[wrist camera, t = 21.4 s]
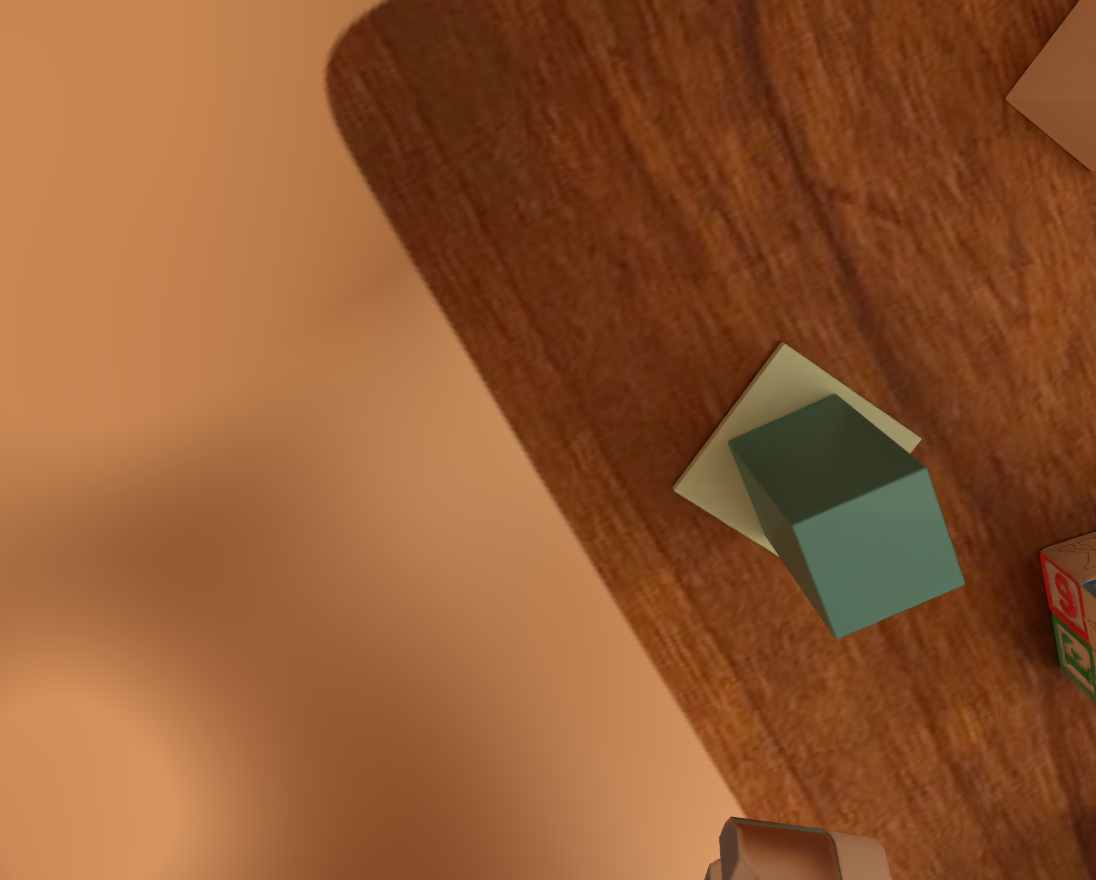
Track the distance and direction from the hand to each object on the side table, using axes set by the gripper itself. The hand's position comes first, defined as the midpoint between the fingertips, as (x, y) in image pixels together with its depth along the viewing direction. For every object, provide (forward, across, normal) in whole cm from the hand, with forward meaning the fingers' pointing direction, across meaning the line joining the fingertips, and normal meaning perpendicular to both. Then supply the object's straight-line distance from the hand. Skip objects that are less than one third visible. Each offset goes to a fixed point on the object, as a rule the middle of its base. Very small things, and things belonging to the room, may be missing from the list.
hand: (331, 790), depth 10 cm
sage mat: (+27, -12, +12) cm, 32 cm away
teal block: (+27, -12, +12) cm, 32 cm away
